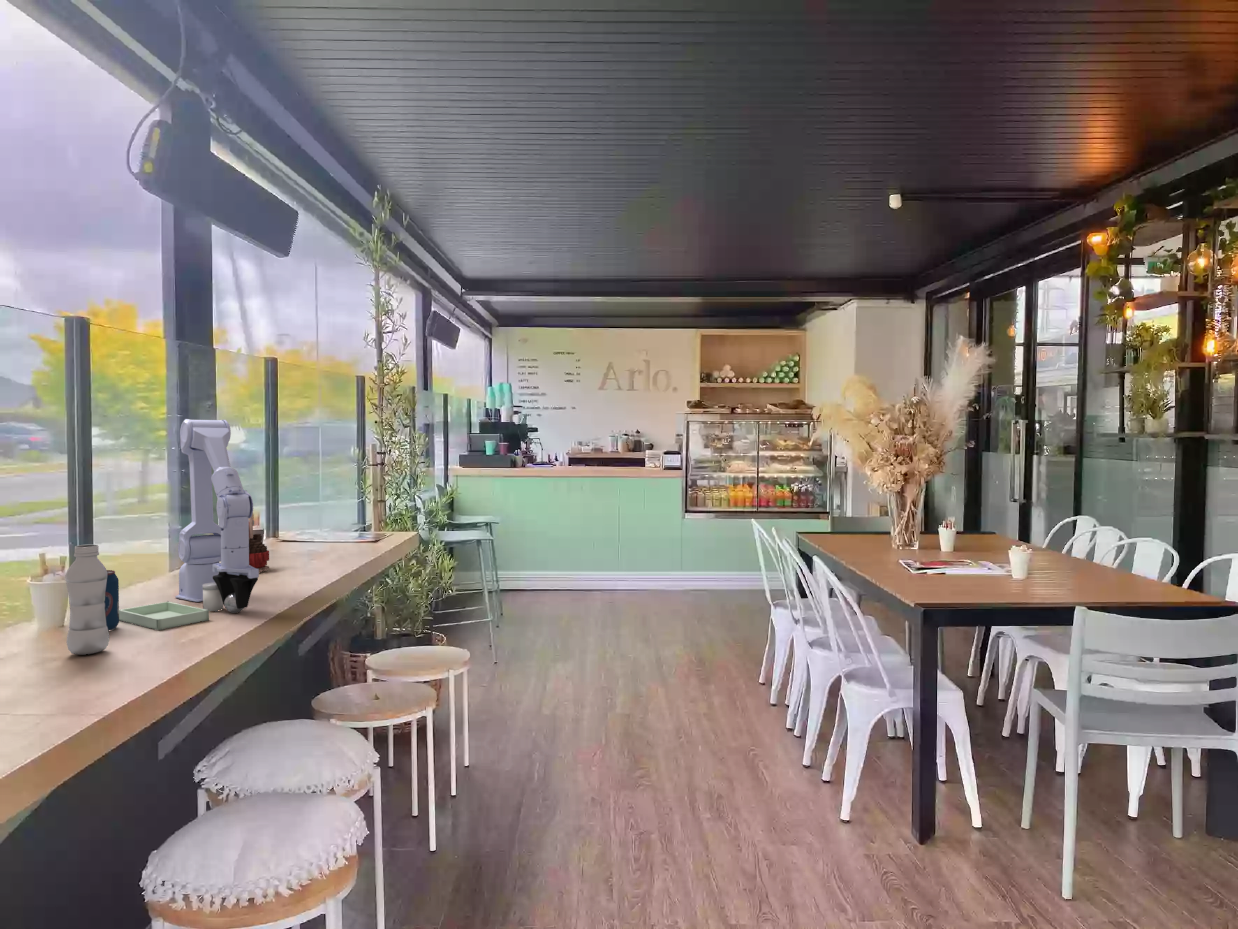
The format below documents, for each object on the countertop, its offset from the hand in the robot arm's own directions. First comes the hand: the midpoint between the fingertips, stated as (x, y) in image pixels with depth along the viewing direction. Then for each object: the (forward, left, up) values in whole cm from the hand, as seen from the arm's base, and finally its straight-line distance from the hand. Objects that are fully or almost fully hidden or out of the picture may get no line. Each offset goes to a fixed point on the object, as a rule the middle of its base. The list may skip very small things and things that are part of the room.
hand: (235, 606), depth 183 cm
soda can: (-8, -25, -2) cm, 26 cm away
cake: (-45, +34, -2) cm, 56 cm away
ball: (0, 0, +1) cm, 1 cm away
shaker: (-7, -1, -2) cm, 7 cm away
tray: (-6, -13, -1) cm, 14 cm away
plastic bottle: (+9, -35, -2) cm, 36 cm away
